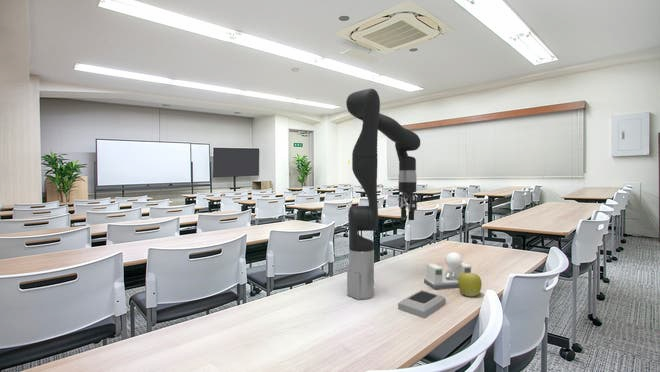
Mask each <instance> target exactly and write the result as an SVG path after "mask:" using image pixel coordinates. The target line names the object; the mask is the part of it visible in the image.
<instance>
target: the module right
mask: <svg viewBox="0 0 660 372" xmlns="http://www.w3.org/2000/svg"><path fill="white" fill-rule="evenodd" d="M462 273H472V265H471V264H468V263H465V262H463V261H462V264H461V266H460V267H458V268H457V269H456V270H455V272H454V273H453V276H454V277H456V278H459V276H460V274H462Z"/></svg>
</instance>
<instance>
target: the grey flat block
mask: <svg viewBox="0 0 660 372" xmlns="http://www.w3.org/2000/svg"><path fill="white" fill-rule="evenodd" d="M446 299H447V298H445V296H443V295H441V294H438V293H434V292H431V291H427V290H424V289H420V290H418V291H416V292H415V293H413V294H411V295H409V296H407V297H406V298H403V299H402V300H400V301H399V302H398V303H397V309H398V310H399V311H401V312H405V313H408V314H410V315H413V316H416V317H419V318H421V319H426V318H427V317H428V316H430V315H432V314H433V313H434V312H436V311H438V310H439V309H441V308H443V307H444V306H446V303H447V300H446Z"/></svg>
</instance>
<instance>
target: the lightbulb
mask: <svg viewBox="0 0 660 372" xmlns="http://www.w3.org/2000/svg"><path fill="white" fill-rule="evenodd" d="M462 262H463V258H462V255H460V254H459V253H458V252H455V251H454V252H453V251H451V252H449V253H447V255H446V256H445V264H446V271H445V274H444V277H446V278H448V279H450V278H452V276H454V272H455V270H456V269H457V268H458V267H460V266H461V264H462Z"/></svg>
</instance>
